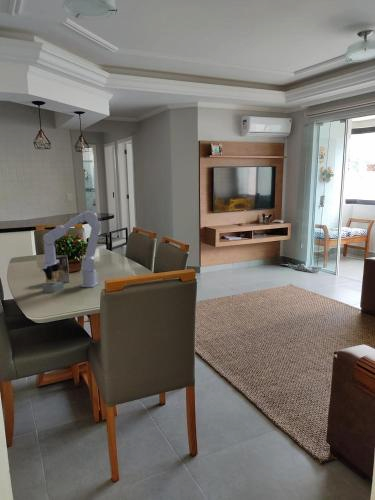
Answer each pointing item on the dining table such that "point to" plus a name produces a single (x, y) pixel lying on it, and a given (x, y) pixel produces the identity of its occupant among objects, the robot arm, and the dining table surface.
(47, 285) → the slate block
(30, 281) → the dining table surface
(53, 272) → the oak cube
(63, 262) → the coffee box
